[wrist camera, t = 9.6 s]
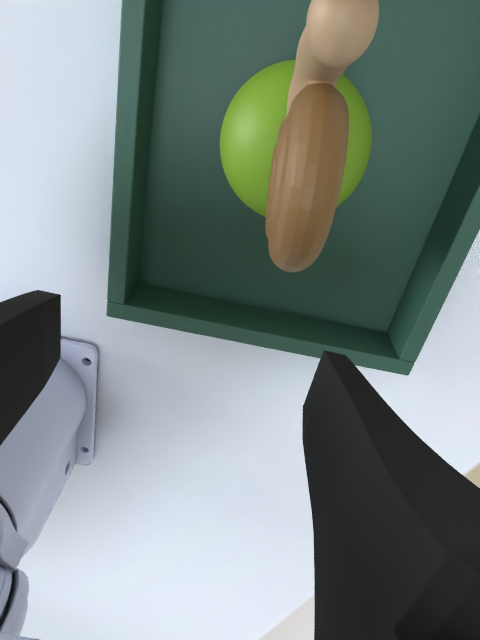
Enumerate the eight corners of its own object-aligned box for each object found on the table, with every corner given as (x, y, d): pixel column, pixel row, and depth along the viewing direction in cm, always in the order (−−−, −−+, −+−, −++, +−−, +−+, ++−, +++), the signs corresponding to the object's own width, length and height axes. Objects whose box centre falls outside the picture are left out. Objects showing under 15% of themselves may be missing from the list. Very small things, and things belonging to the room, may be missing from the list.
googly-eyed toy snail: (376, 39, 16) (574, -40, 6) (342, 208, 19) (430, 357, 9) (233, 25, 16) (172, -78, 6) (222, 196, 19) (169, 330, 9)
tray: (392, 343, 23) (408, 376, 21) (124, 289, 23) (106, 316, 20) (581, -84, 15) (649, -120, 12) (158, -191, 14) (133, -254, 11)
